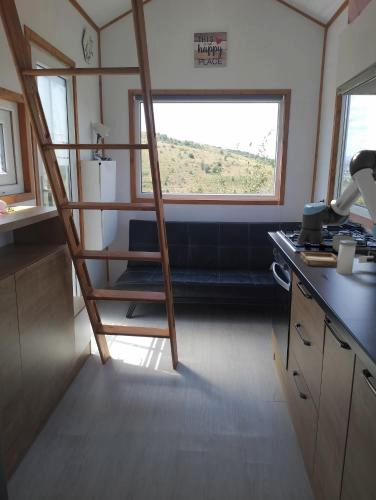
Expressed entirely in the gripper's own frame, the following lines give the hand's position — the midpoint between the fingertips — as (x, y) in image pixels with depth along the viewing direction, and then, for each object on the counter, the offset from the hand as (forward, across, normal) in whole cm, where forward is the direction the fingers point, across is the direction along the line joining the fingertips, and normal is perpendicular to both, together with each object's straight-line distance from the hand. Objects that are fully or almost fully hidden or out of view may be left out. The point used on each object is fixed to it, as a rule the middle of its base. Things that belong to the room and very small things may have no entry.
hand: (348, 255), depth 170 cm
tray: (+1, +19, -8) cm, 20 cm away
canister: (+1, +1, -8) cm, 8 cm away
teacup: (-23, +36, -8) cm, 44 cm away
